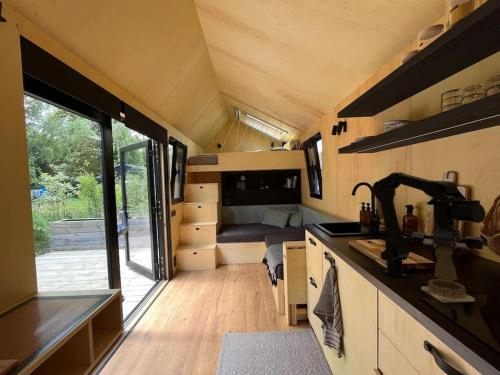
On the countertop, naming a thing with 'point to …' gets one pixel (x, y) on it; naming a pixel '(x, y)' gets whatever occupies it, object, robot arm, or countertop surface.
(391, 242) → the robot arm
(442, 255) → the cork
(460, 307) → the countertop surface
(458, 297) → the shaker holder
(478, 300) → the countertop surface
